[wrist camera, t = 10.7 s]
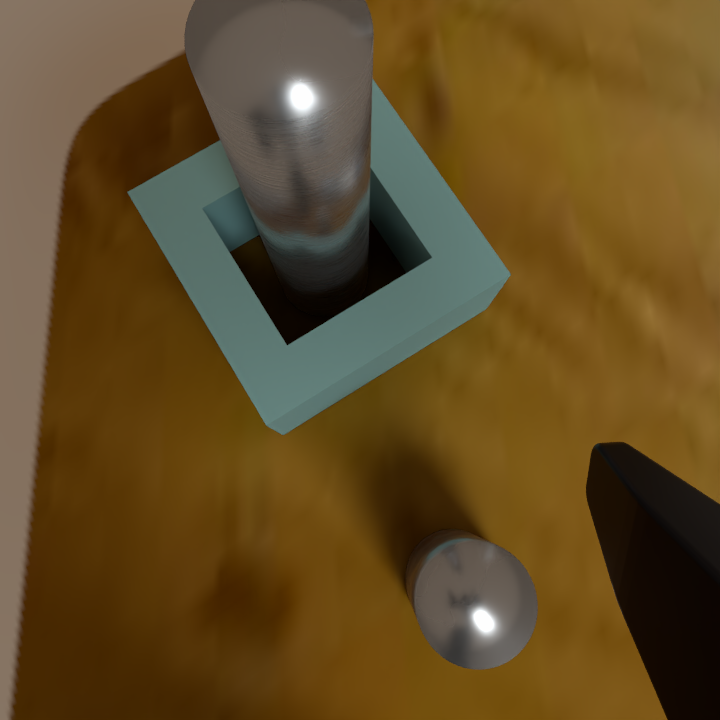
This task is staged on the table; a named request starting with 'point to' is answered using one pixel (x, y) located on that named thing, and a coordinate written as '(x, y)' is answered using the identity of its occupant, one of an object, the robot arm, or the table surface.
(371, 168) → the hole block
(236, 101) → the tall pin
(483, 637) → the short pin
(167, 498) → the table surface
